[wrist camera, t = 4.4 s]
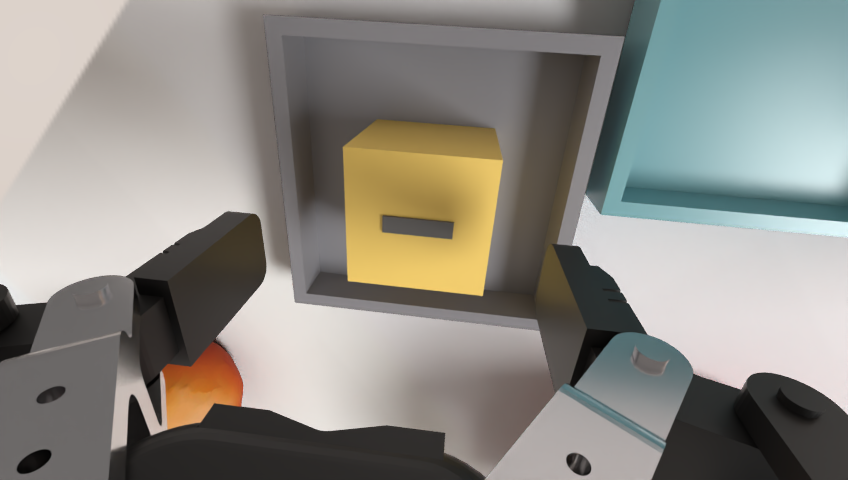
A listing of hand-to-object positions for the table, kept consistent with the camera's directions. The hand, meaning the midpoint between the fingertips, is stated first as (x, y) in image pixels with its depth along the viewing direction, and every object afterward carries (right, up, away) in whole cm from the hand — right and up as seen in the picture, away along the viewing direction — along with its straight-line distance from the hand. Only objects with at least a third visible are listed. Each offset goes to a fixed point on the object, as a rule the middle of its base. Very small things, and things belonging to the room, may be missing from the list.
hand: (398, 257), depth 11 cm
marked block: (+1, +3, +7) cm, 8 cm away
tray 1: (+1, +3, +7) cm, 8 cm away
